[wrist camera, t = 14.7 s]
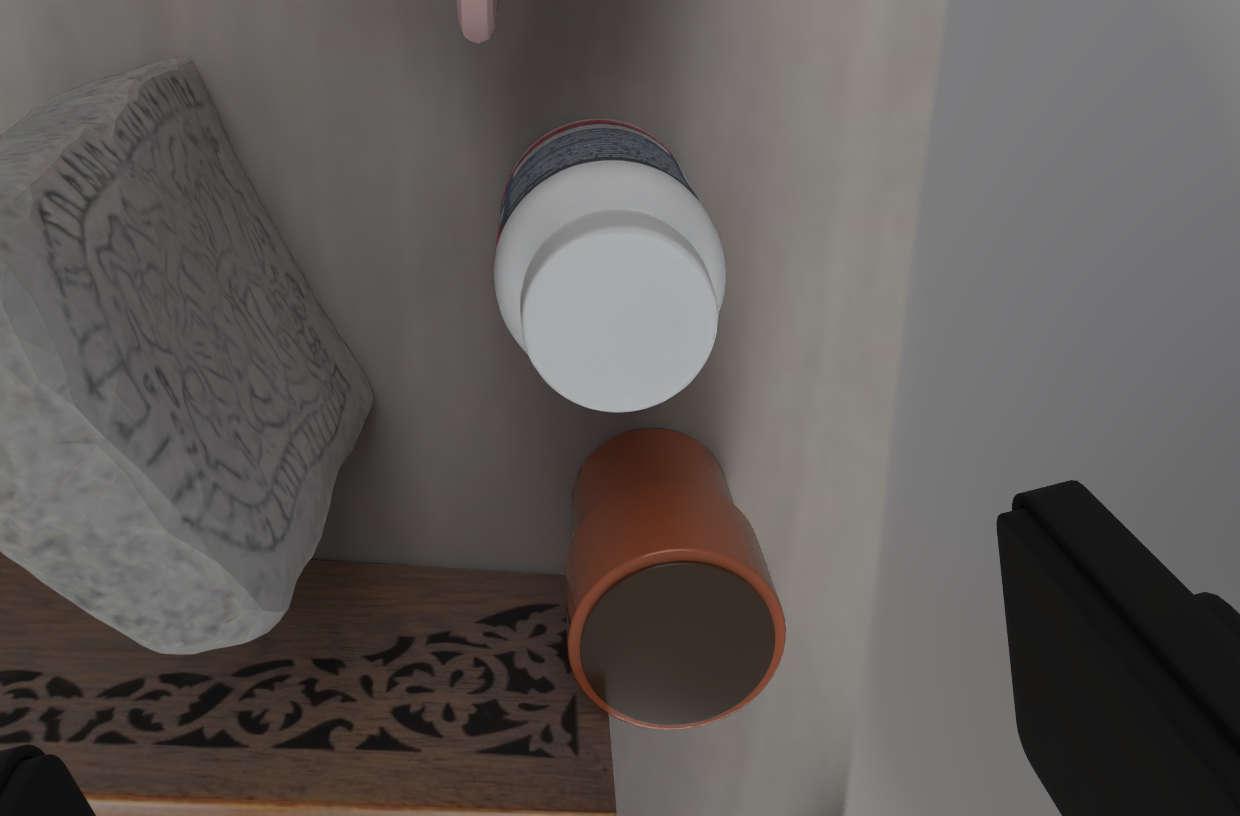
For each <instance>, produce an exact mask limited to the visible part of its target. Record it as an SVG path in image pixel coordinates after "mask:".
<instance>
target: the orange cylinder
mask: <svg viewBox="0 0 1240 816" xmlns="http://www.w3.org/2000/svg"><path fill="white" fill-rule="evenodd" d="M572 507H573V526H574V536H573V538H572V540H571V543H570V545H569V548H568V552H567V556H566V562H565V590H566V618H567V645H568V657H569V661H570V666H571V669H572V671H573V674H574V676H575V678H576V680H577V682H578V683H579V685H580V687H581V688H582V689H583V691H584V692H585V693H586V694H587V696H588V697H589V698H590V699H591V700H592V701H593V702H594V703H595V704H596V705H597V706H599V707H600V708H601V709H603V710H604V711H606V712H607V713H608V714H610V715H612V716H614V717H616V718H618V719H620V720H622V721H625V722H627V723H630V724H633V725H637V726H641V727H645V728H651V729H659V730H678V729H688V728H694V727H699V726H703V725H706V724H710V723H713V722H715V721H718V720H720V719H723V718H725V717H727V716H729V715H731V714H733V713H735V712H736V711H738V710H739V709H741V708H742V707H744V706H745V705H747V704H748V703H749V702H750V701H751V700H753V699H754V698H755V697H756V696H757V695H758V694H759V693H760V692H761V691H762V690H763V689H764V688H765V686H766V685H767V684H768V682H769V681H770V679H771V678H772V677H773V675H774V673H775V671H776V669H777V667H778V665H779V662H780V660H781V657H782V654H783V650H784V645H785V636H786V627H785V618H784V614H783V611H782V607H781V604H780V601H779V598H778V596H777V593H776V590H775V587H774V584H773V582H772V579H771V576H770V573H769V570H768V568H767V565H766V562H765V559H764V556H763V553H762V551H761V548H760V545H759V542H758V539H757V537H756V534H755V532H754V530H753V528H752V526H751V524H750V523H749V521H748V520H747V518H746V517H745V515H744V514H743V513H742V512H741V511H740V510H739V509H738V508H737V507H736V506H735V505H734V503H733V500H732V497H731V494H730V491H729V488H728V485H727V482H726V479H725V476H724V473H723V471H722V469H721V466H720V464H719V463H718V461H717V460H716V458H715V457H714V456H713V454H712V453H711V452H710V451H709V450H708V449H707V448H706V447H705V446H703V445H702V444H701V443H700V442H698V441H696V440H695V439H693V438H691V437H689V436H687V435H685V434H682V433H679V432H676V431H672V430H667V429H657V428H649V429H639V430H634V431H630V432H627V433H623V434H621V435H619V436H616V437H614V438H612V439H611V440H609V441H607V442H606V443H604V444H603V445H601V446H600V447H599V448H598V449H596V450H595V451H594V452H593V453H592V454H591V455H590V456H589V457H588V459H587V460H586V461H585V463H584V464H583V466H582V467H581V469H580V471H579V473H578V475H577V478H576V480H575V484H574V488H573V495H572Z"/></svg>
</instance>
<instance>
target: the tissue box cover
mask: <svg viewBox="0 0 1240 816" xmlns="http://www.w3.org/2000/svg"><path fill="white" fill-rule="evenodd" d="M21 745H34V746H36V747H38V748H40V749H41V750H42V751H43V752H44V753H45V754H46V755H47V754H52V755H56V756H57V757H59V758H60V759H61V760H62V761H63V762H64V764H65V765H66V767H67V768H68V770H69V772H70V773H71V775H72V777H73V778H74V780H75V782H76V783H77V785H78V786H79V788H80V790H81V791H82V793H83V795H84V796H85V798H86V800H87V801H88V803H89V805H90V806H91V808H92V810H93V811H94V813H95V814H96V816H616V814H617V812H616V801H615V789H614V777H613V765H612V753H611V741H610V730H609V718H608V713H607V712H606V711H604V710H603V709H601V708H600V707H599V706H597V705H596V704H595V703H594V702H593V701H592V700H591V699H590V698H589V697H588V696H587V694H586V693H585V692H584V691H583V689H582V688H581V687H580V685H579V683H578V682H577V680H576V678H575V676H574V674H573V671H572V669H571V666H570V661H569V657H568V645H567V618H566V590H565V576H564V575H548V574H531V573H515V572H499V571H482V570H466V569H449V568H433V567H416V566H400V565H383V564H367V563H351V562H334V561H318V560H309V562H308V563H307V564H306V566H305V567H304V568H303V570H302V572H301V574H300V576H299V577H298V579H297V581H296V584H295V588H294V591H293V595H292V598H291V602H290V605H289V608H288V610H287V611H286V613H285V614H284V615H283V617H282V618H281V620H280V621H279V622H278V623H277V624H276V625H275V626H274V627H273V628H272V629H271V630H270V631H269V632H268V633H266V634H264V635H262V636H260V637H258V638H255V639H253V640H251V641H249V642H246V643H243V644H240V645H234V646H229V647H223V648H218V649H213V650H208V651H204V652H200V653H197V654H183V655H180V654H161V653H158V652H156V651H153V650H151V649H148V648H146V647H144V646H142V645H140V644H139V643H137V642H136V641H134V640H132V639H131V638H129V637H128V636H126V635H124V634H123V633H121V632H120V631H118V630H116V629H114V628H113V627H111V626H109V625H107V624H105V623H104V622H102V621H100V620H98V619H96V618H95V617H93V616H92V615H90V614H89V613H87V612H86V611H84V610H83V609H81V608H80V607H78V606H77V605H76V604H74V603H73V602H71V601H70V600H68V599H67V598H65V597H63V596H62V595H60V594H59V593H57V592H56V591H54V590H53V589H51V588H50V587H48V586H47V585H45V584H44V583H42V582H41V581H40V580H39V579H37V578H36V577H35V576H34V575H32V574H31V573H30V572H29V571H27V570H26V569H25V568H24V567H22V566H20V565H19V564H17V563H16V562H14V561H13V560H11V559H9V558H8V557H7V556H5V555H4V554H3V553H2V552H0V751H2V750H6V749H10V748H14V747H17V746H21Z"/></svg>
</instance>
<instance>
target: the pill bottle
mask: <svg viewBox="0 0 1240 816" xmlns="http://www.w3.org/2000/svg"><path fill="white" fill-rule="evenodd" d="M494 284H495V293H496V297H497V302H498V306H499V309H500V312H501V314H502V317H503V320H504V322H505V324H506V326H507V328H508V329H509V331H510V333H511V334H512V336H513V337H514V339H515V340H516V342H517V343H518V344H519V345H520V347H521V348H522V349H523V350H524V351H525V352H526V353H527V354H528V355H529V358H530V360H531V362H532V364H533V365H534V367H535V368H536V370H537V371H538V373H539V374H540V375H541V377H542V378H543V379H544V380H545V381H546V382H547V384H548V385H549V386H551V387H552V388H553V389H554V390H555V391H556V392H558V393H559V394H561V395H562V396H564V397H565V398H567V399H568V400H570V401H572V402H574V403H576V404H579V405H581V406H583V407H587V408H590V409H594V410H599V411H604V412H631V411H638V410H641V409H646V408H649V407H652V406H655V405H657V404H660V403H662V402H664V401H666V400H668V399H669V398H671V397H673V396H674V395H676V394H677V393H678V392H680V391H681V390H683V389H684V388H685V387H686V386H687V385H688V384H689V383H690V382H691V381H692V380H693V379H694V378H695V377H696V376H697V374H698V373H699V372H700V370H701V369H702V367H703V366H704V364H705V363H706V361H707V359H708V357H709V355H710V353H711V350H712V348H713V345H714V341H715V338H716V333H717V326H718V315H719V312H720V309H721V306H722V302H723V298H724V292H725V285H726V265H725V257H724V253H723V249H722V244H721V241H720V239H719V236H718V234H717V231H716V229H715V227H714V225H713V223H712V221H711V219H710V217H709V216H708V214H707V212H706V211H705V209H704V207H703V206H702V204H701V203H700V201H699V199H698V198H697V196H696V195H695V193H694V191H693V189H692V188H691V186H690V183H689V181H688V179H687V177H686V175H685V173H684V171H683V169H682V168H681V166H680V164H679V163H678V161H677V160H676V158H675V157H674V156H673V154H672V153H671V152H670V151H669V149H668V148H667V147H666V146H665V145H664V144H663V143H662V142H660V141H659V140H658V139H657V138H655V137H654V136H653V135H651V134H650V133H648V132H647V131H645V130H643V129H641V128H639V127H637V126H635V125H632V124H629V123H626V122H623V121H618V120H613V119H601V118H597V119H584V120H578V121H574V122H571V123H568V124H565V125H562V126H560V127H557V128H555V129H553V130H552V131H550V132H548V133H546V134H545V135H543V136H542V137H541V138H539V139H538V140H537V141H536V142H534V143H533V144H532V145H531V146H530V147H529V148H528V149H527V150H526V151H525V152H524V154H523V155H522V156H521V157H520V159H519V160H518V162H517V163H516V165H515V166H514V168H513V170H512V172H511V174H510V177H509V179H508V181H507V183H506V186H505V190H504V194H503V199H502V203H501V212H500V220H499V228H498V236H497V242H496V248H495V256H494Z"/></svg>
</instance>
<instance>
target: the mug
mask: <svg viewBox="0 0 1240 816" xmlns="http://www.w3.org/2000/svg"><path fill="white" fill-rule="evenodd" d="M496 10H497V0H457V13H458V20H459V24H460V26H461V29H462V32H463V34H464V37H465V38H467V39H469V40H471V41H473V42H475V43H477V44H478V43H481V42H483V41H486V40H488V39H490V37H491V35H492V32H493V30H494V27H495V24H496Z"/></svg>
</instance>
